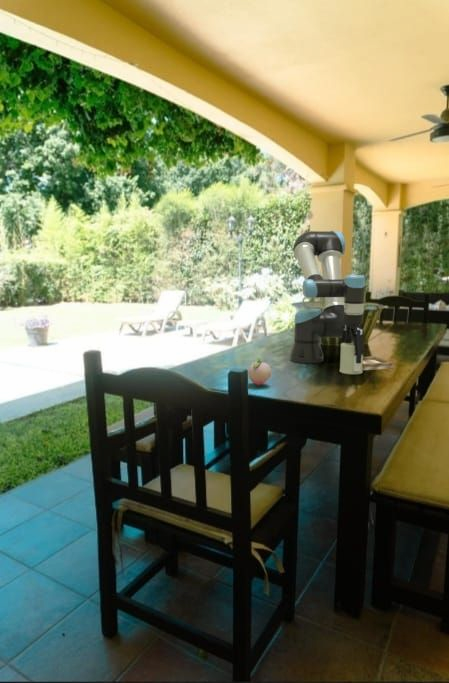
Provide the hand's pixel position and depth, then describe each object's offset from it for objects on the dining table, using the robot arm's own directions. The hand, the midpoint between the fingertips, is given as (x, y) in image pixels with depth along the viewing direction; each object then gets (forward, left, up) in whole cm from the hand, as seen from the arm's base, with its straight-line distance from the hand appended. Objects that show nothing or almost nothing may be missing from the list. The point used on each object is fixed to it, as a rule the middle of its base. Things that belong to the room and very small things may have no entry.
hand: (351, 368), depth 187 cm
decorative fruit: (-43, -12, -2) cm, 45 cm away
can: (0, 0, -2) cm, 2 cm away
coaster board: (+13, +8, -1) cm, 15 cm away
